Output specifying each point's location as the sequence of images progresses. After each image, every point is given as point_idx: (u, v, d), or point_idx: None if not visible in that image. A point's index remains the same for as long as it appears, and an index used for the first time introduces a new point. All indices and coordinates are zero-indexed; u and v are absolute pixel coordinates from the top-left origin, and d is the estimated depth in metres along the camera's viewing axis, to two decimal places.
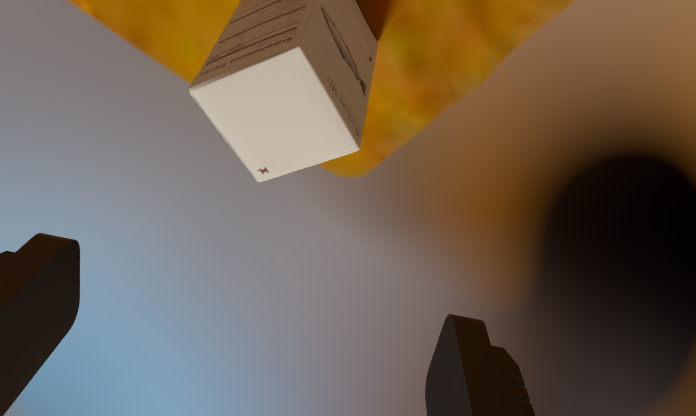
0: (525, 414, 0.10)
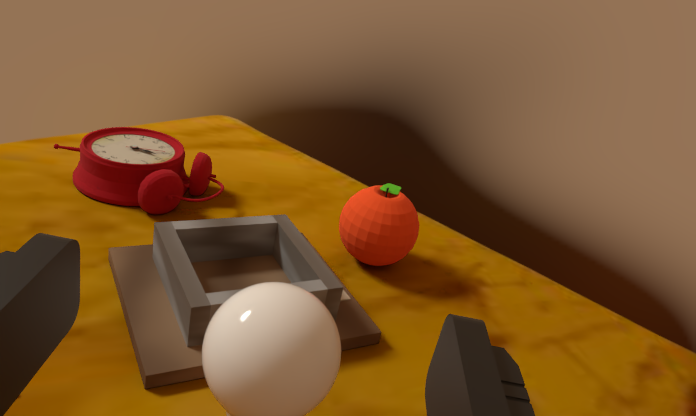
0: (525, 414, 0.10)
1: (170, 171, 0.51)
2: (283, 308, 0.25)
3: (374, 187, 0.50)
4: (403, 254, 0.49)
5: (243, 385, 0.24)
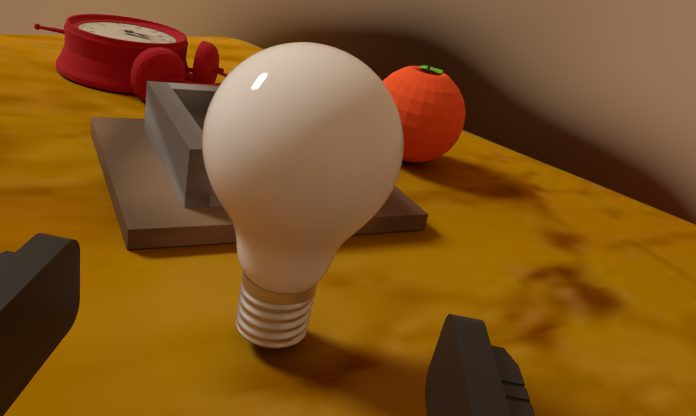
0: (525, 414, 0.10)
1: (170, 50, 0.43)
2: (324, 55, 0.17)
3: (412, 66, 0.41)
4: (446, 145, 0.41)
5: (265, 157, 0.16)
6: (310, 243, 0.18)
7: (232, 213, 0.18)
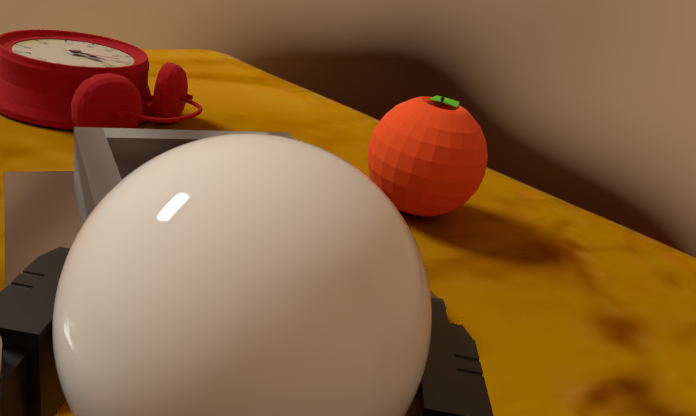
0: (476, 385, 0.11)
1: (121, 77, 0.35)
2: (280, 175, 0.08)
3: (421, 97, 0.33)
4: (464, 197, 0.32)
5: (148, 406, 0.07)
6: None
7: None
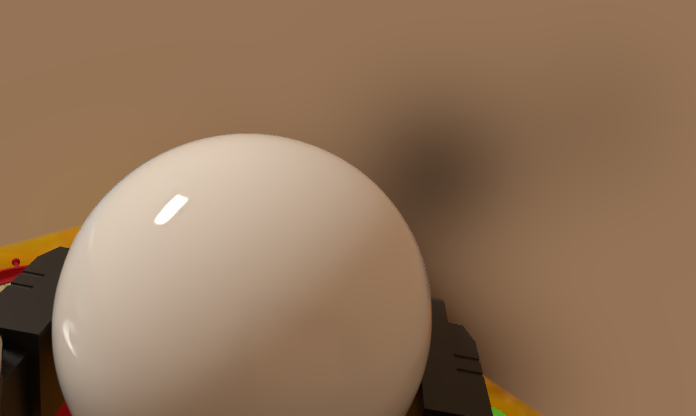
0: (476, 385, 0.11)
1: None
2: (281, 176, 0.08)
3: None
4: None
5: (148, 407, 0.07)
6: None
7: None
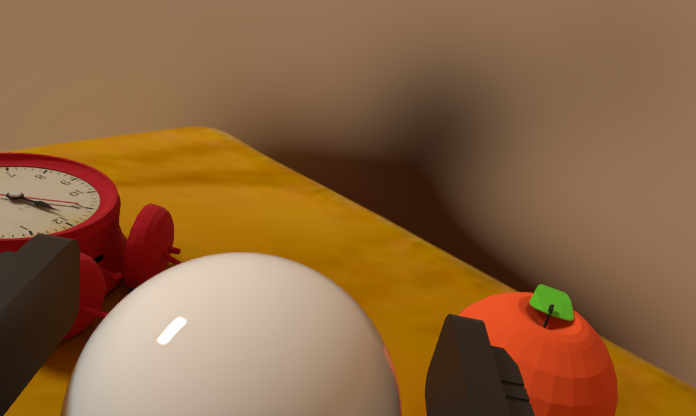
0: (525, 414, 0.10)
1: None
2: (265, 311, 0.09)
3: (516, 300, 0.22)
4: None
5: None
6: None
7: None
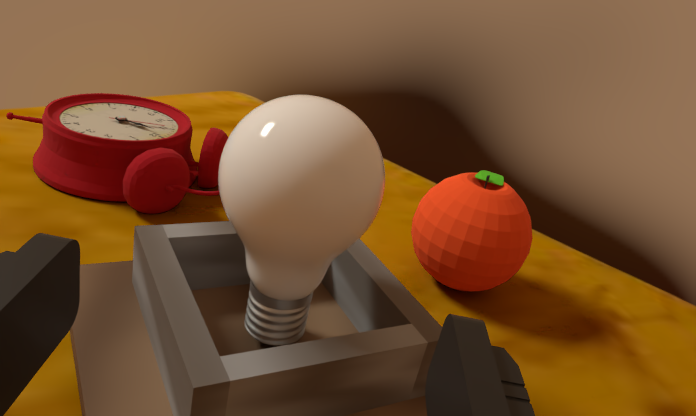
0: (525, 414, 0.10)
1: (171, 151, 0.35)
2: (319, 110, 0.20)
3: (466, 174, 0.33)
4: (510, 276, 0.33)
5: (270, 195, 0.19)
6: (307, 261, 0.22)
7: (243, 236, 0.21)
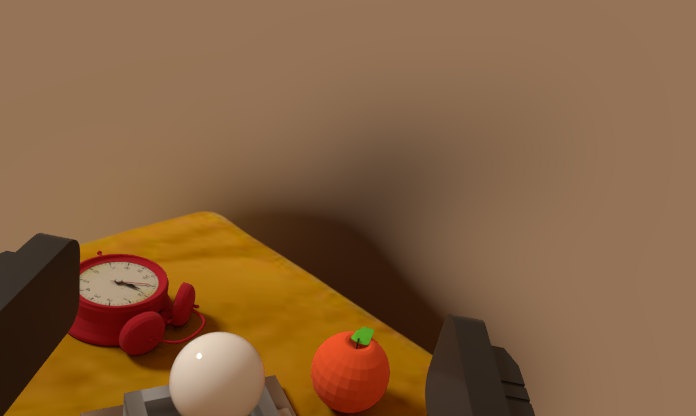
0: (525, 414, 0.10)
1: (151, 313, 0.52)
2: (222, 352, 0.38)
3: (346, 335, 0.50)
4: (372, 404, 0.50)
5: (194, 403, 0.37)
6: None
7: None
